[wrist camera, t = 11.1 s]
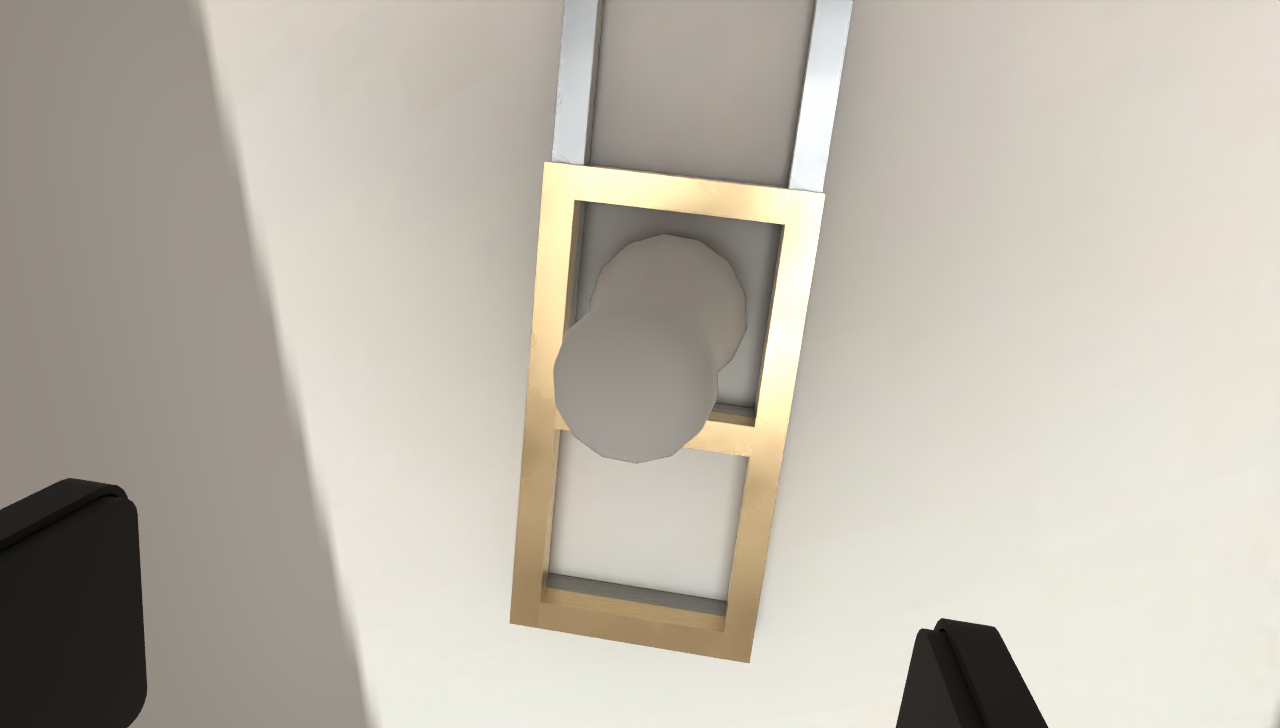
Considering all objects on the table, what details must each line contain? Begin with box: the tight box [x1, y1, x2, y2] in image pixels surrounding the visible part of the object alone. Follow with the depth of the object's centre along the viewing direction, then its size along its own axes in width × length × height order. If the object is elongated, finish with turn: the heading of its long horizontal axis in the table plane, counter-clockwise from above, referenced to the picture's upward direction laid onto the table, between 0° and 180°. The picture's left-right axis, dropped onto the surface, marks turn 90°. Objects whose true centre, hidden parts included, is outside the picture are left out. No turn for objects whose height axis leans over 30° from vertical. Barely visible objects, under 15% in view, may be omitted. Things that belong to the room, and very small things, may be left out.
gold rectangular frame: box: [510, 161, 825, 663], centre depth 33 cm, size 19×10×2 cm, turn 174°
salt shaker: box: [553, 234, 747, 463], centre depth 27 cm, size 6×6×13 cm
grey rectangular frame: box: [552, 0, 853, 417], centre depth 31 cm, size 19×10×1 cm, turn 174°
